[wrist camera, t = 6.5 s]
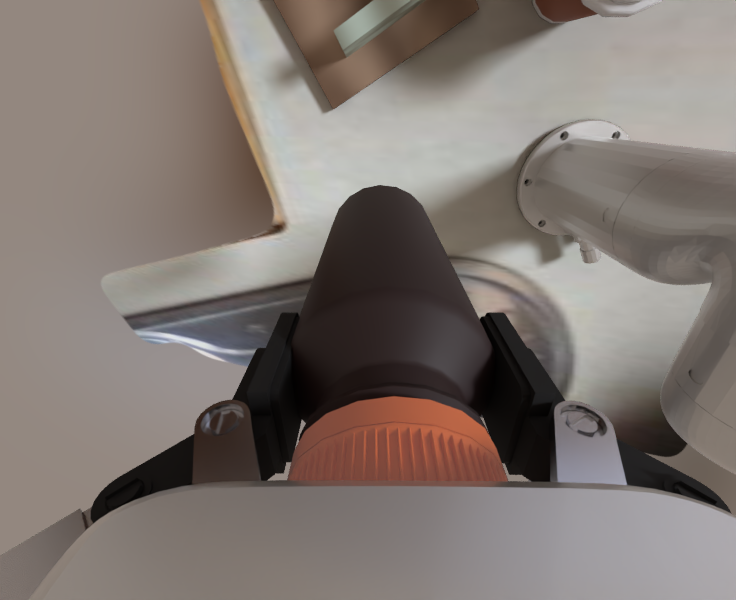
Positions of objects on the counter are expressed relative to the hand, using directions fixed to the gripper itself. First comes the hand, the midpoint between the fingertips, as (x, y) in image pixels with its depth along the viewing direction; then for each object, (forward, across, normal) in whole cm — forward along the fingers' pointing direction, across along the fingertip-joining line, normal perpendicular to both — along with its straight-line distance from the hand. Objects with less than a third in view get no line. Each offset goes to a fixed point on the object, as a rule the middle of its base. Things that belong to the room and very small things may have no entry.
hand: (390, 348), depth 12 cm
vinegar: (+13, 0, 0) cm, 13 cm away
